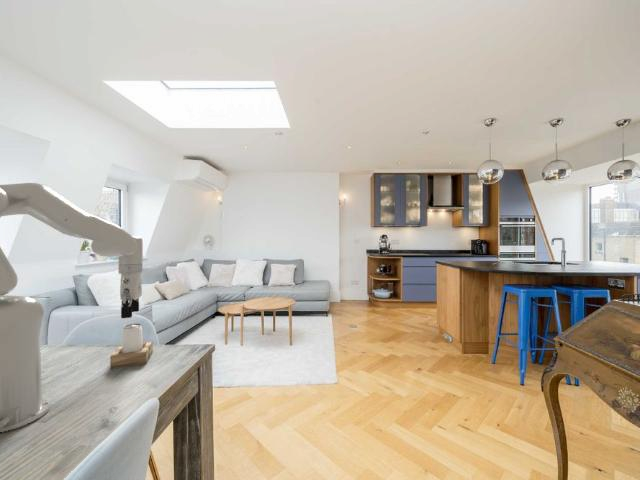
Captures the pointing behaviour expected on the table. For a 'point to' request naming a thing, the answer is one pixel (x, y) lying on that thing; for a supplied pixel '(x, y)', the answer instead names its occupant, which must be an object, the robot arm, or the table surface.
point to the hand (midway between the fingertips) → (130, 314)
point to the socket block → (131, 356)
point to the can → (132, 338)
